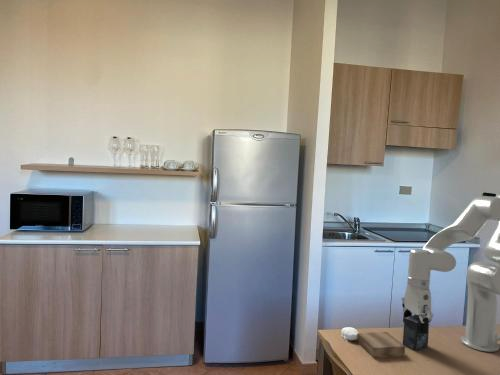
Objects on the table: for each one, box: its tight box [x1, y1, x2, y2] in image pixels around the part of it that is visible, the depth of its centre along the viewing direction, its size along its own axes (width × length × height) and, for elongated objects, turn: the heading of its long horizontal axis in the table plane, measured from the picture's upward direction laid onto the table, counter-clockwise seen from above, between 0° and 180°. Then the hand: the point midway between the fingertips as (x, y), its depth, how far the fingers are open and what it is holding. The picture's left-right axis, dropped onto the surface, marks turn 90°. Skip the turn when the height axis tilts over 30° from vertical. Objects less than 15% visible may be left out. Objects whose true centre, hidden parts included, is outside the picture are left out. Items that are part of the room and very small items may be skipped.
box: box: [402, 314, 430, 351], centre depth 142 cm, size 8×6×11 cm
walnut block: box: [356, 331, 406, 359], centre depth 138 cm, size 12×12×4 cm
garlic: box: [340, 326, 360, 343], centre depth 146 cm, size 8×7×4 cm
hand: (414, 327), depth 142 cm, fingers open, 9 cm apart
